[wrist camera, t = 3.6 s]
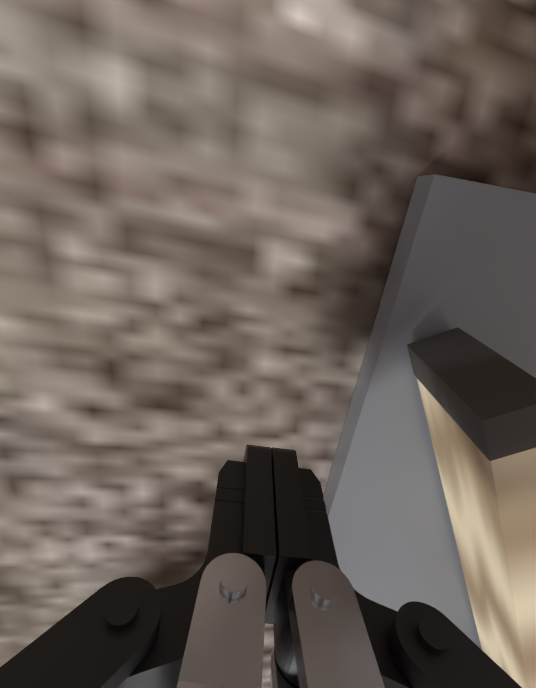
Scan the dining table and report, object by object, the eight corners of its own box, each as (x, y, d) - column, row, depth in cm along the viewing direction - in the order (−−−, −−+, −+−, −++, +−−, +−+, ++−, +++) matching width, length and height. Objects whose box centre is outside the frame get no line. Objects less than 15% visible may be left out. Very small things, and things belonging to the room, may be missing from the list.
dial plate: (417, 176, 11) (435, 173, 10) (937, 275, 13) (1002, 283, 12) (270, 674, 22) (271, 701, 21) (568, 692, 23) (584, 717, 22)
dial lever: (545, 682, 20) (667, 888, 14) (467, 700, 21) (553, 906, 15) (499, 312, 11) (765, 440, 5) (367, 358, 12) (477, 521, 6)
